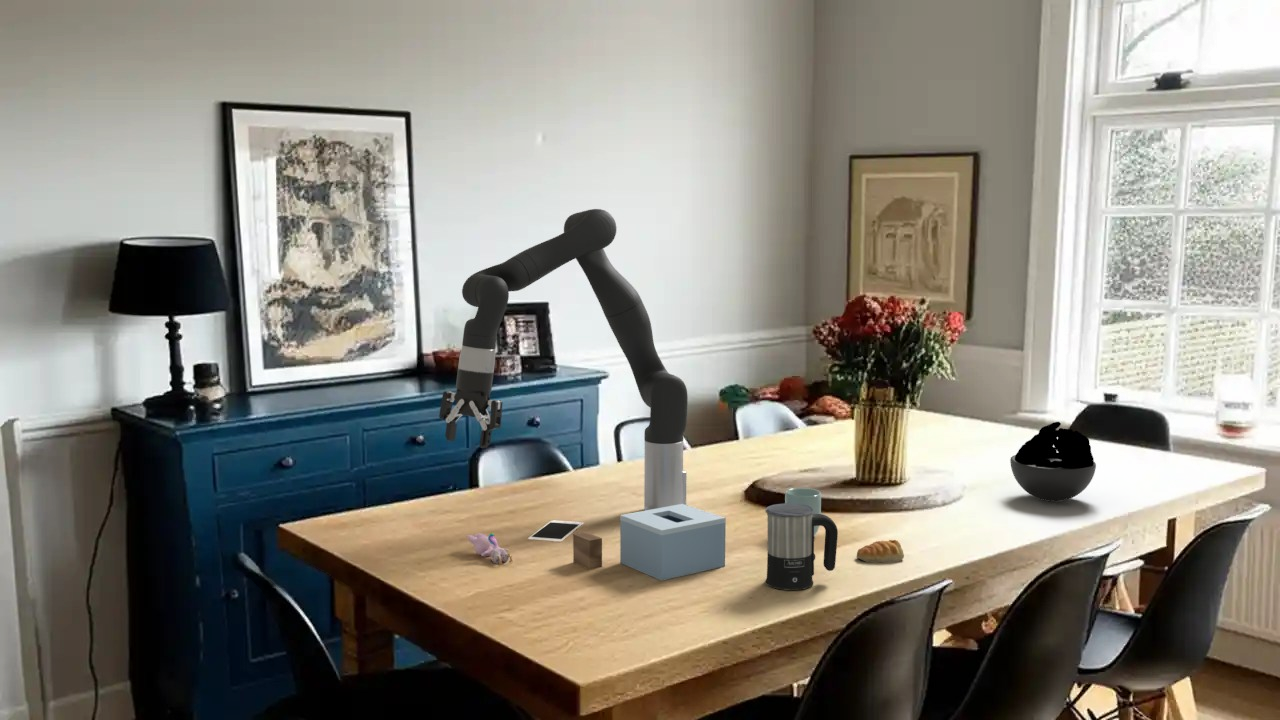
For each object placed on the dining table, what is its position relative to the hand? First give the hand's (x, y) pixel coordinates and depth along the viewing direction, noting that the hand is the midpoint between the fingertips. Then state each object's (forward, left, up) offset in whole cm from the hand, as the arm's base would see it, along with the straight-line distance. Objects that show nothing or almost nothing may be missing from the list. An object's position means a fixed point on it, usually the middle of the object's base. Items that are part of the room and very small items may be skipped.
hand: (466, 444), depth 249 cm
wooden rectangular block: (-13, +27, -22) cm, 37 cm away
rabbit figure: (+1, +11, -22) cm, 25 cm away
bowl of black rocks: (-136, +49, -22) cm, 146 cm away
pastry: (-65, +59, -22) cm, 90 cm away
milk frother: (-41, +57, -22) cm, 74 cm away
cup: (-63, +37, -22) cm, 76 cm away
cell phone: (-21, +2, -23) cm, 31 cm away
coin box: (-27, +37, -22) cm, 51 cm away
